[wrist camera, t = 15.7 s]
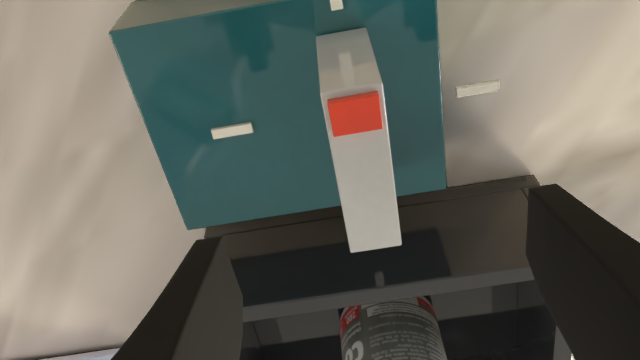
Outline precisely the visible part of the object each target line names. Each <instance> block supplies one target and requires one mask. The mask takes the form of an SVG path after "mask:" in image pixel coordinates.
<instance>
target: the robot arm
mask: <svg viewBox="0 0 640 360" xmlns="http://www.w3.org/2000/svg"><path fill="white" fill-rule="evenodd" d="M526 256H527V259H528V262H529V265H530V268H531V270H532V273H533V276H534V279H535V281H536V284H537V286H538V289H539V292H540V294H541V296H542V298H543V300H544V302H545V303H546V305H547V307H548V309H549V311H550V313H551V315H552V317H553V319H554V321H555V323H556V324H557V326H558V328H559V330H560V332H561V334H562V336H563V338H564V339H565V341H566V343H567V345H568V347H569V349H570V351H571V353H572V354H573V356H574V358H575V360H640V243H639V242H638V241H636V240H634V239H633V238H631V237H630V236H628V235H627V234H625V233H624V232H622V231H621V230H619V229H618V228H617V227H615V226H614V225H612V224H611V223H609V222H608V221H607V220H605V219H604V218H602V217H601V216H599V215H598V214H597V213H595V212H594V211H593V210H591V209H590V208H588V207H587V206H586V205H584V204H583V203H582V202H580V201H579V200H578V199H576V198H575V197H574V196H572V195H571V194H570V193H568V192H567V191H565V190H564V189H563V188H561V187H560V186H559V185H557V184H551V185H544V186H538V187H532V188H529V193H528V215H527V236H526ZM242 334H243V295H242V293H241V290H240V287H239V284H238V282H237V279H236V276H235V273H234V270H233V268H232V265H231V262H230V259H229V256H228V254H227V251H226V248H225V245H224V242H223V240H222V237H214V238H208V239H202V240H196V242H195V243H194V244H193V246H192V247H191V249H190V250H189V252H188V253H187V255H186V257H185V258H184V260H183V261H182V263H181V264H180V266H179V267H178V269H177V271H176V272H175V274H174V275H173V277H172V278H171V280H170V281H169V283H168V284H167V286H166V287H165V289H164V290H163V292H162V293H161V295H160V296H159V297H158V299H157V300H156V302H155V303H154V305H153V306H152V308H151V309H150V310H149V312H148V313H147V315H146V316H145V317H144V318H143V320H142V321H141V322H140V324H139V325H138V326H137V328H136V329H135V330H134V332H133V333H132V334H131V336H130V337H129V338H128V339H127V341H126V342H125V343H124V344H123V346H122V347H121V348H116V349H109V350H102V351H95V352H88V353H81V354H75V355H68V356H61V357H54V358H47V359H40V360H239V358H240V351H241V343H242Z"/></svg>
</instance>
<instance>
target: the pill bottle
mask: <svg viewBox="0 0 640 360" xmlns="http://www.w3.org/2000/svg"><path fill="white" fill-rule="evenodd" d="M340 339H341V351H342V360H447V357H446V353H445V350H444V346H443V342H442V338H441V334H440V330H439V327H438V322H437V319H436V315H435V312H434V309H433V307H432V306H431V304H430V302H429V301H428V300H427V299H426V298H425V297H424V296H420V297H413V298H407V299H400V300H393V301H386V302H379V303H373V304H366V305H359V306H352V307H345V309H344V310H343V312H342V315H341V318H340Z"/></svg>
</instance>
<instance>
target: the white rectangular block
mask: <svg viewBox="0 0 640 360" xmlns="http://www.w3.org/2000/svg"><path fill="white" fill-rule="evenodd" d="M316 50H317V63H318V75H319V88H320V97H321V102H322V107H323V113H324V118H325V123H326V128H327V134H328V139H329V144H330V149H331V154H332V160H333V165H334V170H335V175H336V181H337V186H338V191H339V196H340V202H341V207H342V212H343V217H344V223H345V228H346V233H347V238H348V243H349V249H350V252H351V253H354V252H361V251H367V250H374V249H381V248H387V247H394V246H400V245H402V239H401V231H400V222H399V214H398V205H397V197H396V189H395V180H394V172H393V164H392V155H391V147H390V138H389V130H388V122H387V113H386V105H385V97H384V88H383V82H382V79H381V75H380V72H379V68H378V65H377V62H376V58H375V55H374V51H373V48H372V45H371V41H370V38H369V34H368V31H367V28H359V29H354V30H348V31H343V32H337V33H332V34H326V35H321V36H317V37H316Z"/></svg>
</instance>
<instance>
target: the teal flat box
mask: <svg viewBox="0 0 640 360" xmlns="http://www.w3.org/2000/svg"><path fill="white" fill-rule="evenodd" d="M359 28H367V31H368V34H369V38H370V41H371V45H372V48H373V51H374V55H375V58H376V62H377V65H378V68H379V72H380V75H381V79H382V82H383V88H384V97H385V105H386V113H387V122H388V130H389V138H390V147H391V155H392V164H393V172H394V180H395V189H396V197H399V196H406V195H412V194H418V193H425V192H431V191H437V190H443V189H447V178H446V160H445V141H444V123H443V105H442V87H441V69H440V51H439V33H438V15H437V0H140V1H135V2H132V3H131V4H130V5H129V6H128V8H127V9H126V10H125V12H124V13H123V14H122V16H121V17H120V18H119V20H118V21H117V22H116V23H115V25H114V26H113V27H112V29H111V30H110V31H109V35H110V37H111V40H112V42H113V45H114V47H115V50H116V52H117V55H118V57H119V60H120V62H121V65H122V67H123V70H124V72H125V75H126V77H127V80H128V82H129V85H130V87H131V90H132V93H133V95H134V98H135V100H136V103H137V105H138V108H139V110H140V113H141V115H142V118H143V120H144V123H145V125H146V128H147V130H148V133H149V135H150V138H151V140H152V143H153V145H154V148H155V150H156V153H157V155H158V158H159V160H160V163H161V165H162V168H163V170H164V173H165V175H166V178H167V180H168V183H169V185H170V188H171V190H172V193H173V195H174V198H175V200H176V203H177V205H178V208H179V210H180V213H181V215H182V218H183V220H184V223H185V225H186V228H187V230H192V229H198V228H204V227H211V226H217V225H223V224H230V223H236V222H242V221H248V220H255V219H261V218H267V217H274V216H280V215H286V214H292V213H299V212H305V211H311V210H318V209H324V208H330V207H336V206H341V202H340V196H339V191H338V186H337V181H336V175H335V170H334V165H333V160H332V154H331V149H330V144H329V139H328V134H327V128H326V123H325V118H324V113H323V107H322V102H321V97H320V88H319V75H318V63H317V50H316V37H317V36H321V35H326V34H332V33H337V32H343V31H348V30H354V29H359ZM499 90H500V81H499V80H498V79H497V80H491V81H486V82H480V83H474V84H468V85H462V86H456V97H457V98H460V97H466V96H472V95H478V94H484V93H490V92H496V91H499Z"/></svg>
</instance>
